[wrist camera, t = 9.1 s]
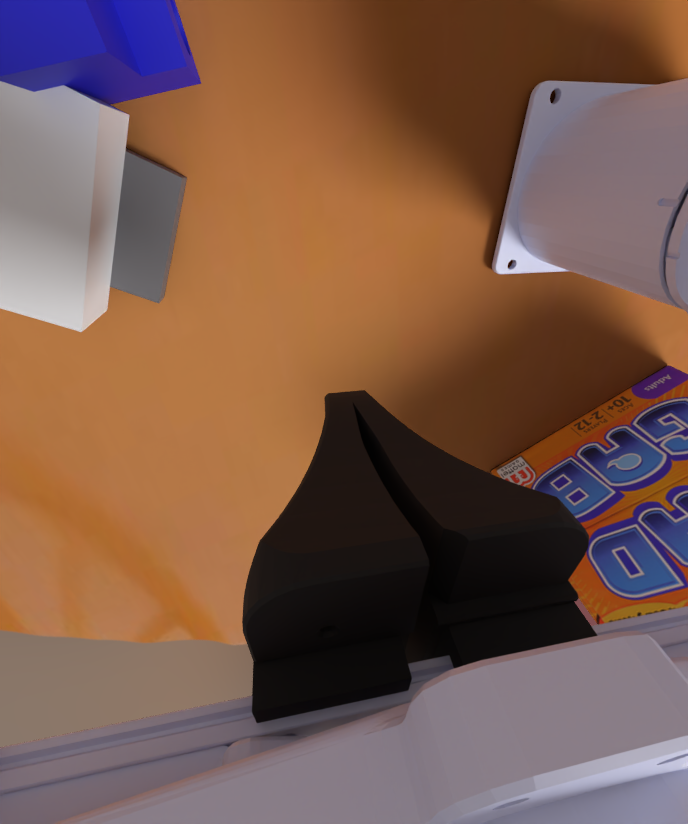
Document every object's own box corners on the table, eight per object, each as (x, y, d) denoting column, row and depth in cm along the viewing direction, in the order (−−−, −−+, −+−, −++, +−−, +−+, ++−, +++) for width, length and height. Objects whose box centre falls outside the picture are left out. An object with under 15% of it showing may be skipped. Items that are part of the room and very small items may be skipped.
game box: (538, 542, 38) (668, 724, 26) (486, 469, 30) (642, 687, 17) (681, 467, 35) (913, 635, 22) (668, 361, 26) (1030, 535, 14)
